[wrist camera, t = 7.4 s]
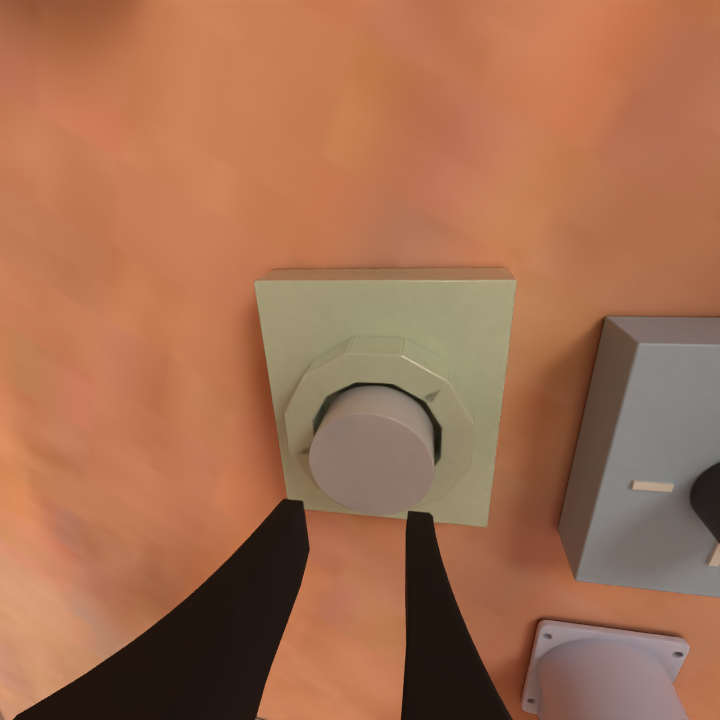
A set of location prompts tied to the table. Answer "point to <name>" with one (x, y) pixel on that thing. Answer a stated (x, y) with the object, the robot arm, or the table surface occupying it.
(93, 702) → the robot arm
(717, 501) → the lock dial
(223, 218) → the table surface
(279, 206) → the table surface
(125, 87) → the table surface
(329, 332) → the button base
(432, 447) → the button
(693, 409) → the dial panel
